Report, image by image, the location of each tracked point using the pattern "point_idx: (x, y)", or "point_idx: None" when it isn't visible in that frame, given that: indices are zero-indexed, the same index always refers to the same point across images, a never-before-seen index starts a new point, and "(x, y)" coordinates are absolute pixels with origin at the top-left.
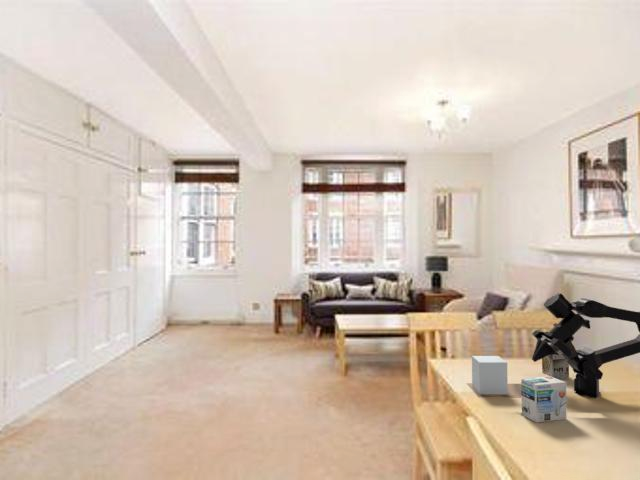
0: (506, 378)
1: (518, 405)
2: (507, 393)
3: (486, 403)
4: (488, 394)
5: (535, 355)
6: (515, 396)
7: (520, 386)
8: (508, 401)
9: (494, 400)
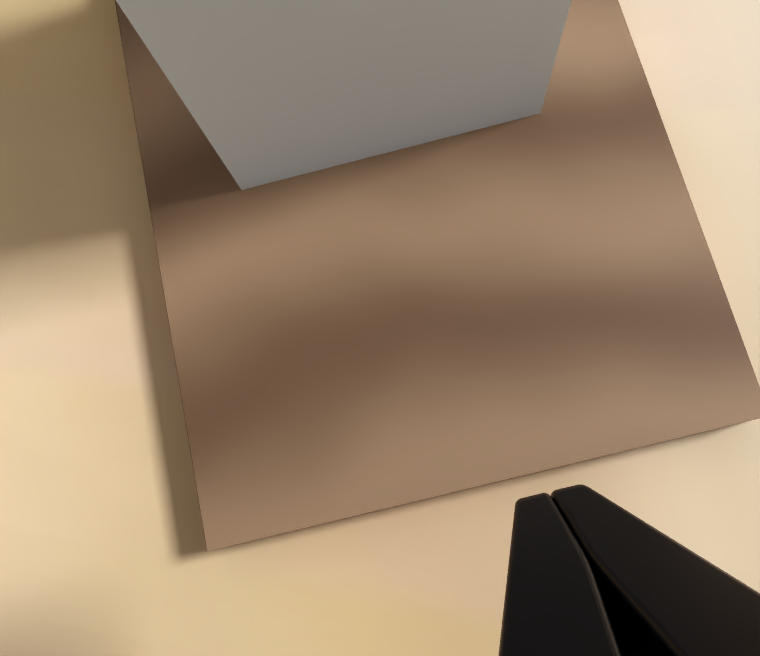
0: (176, 80)
1: (50, 289)
2: (238, 183)
3: (60, 21)
4: None
5: (509, 594)
6: (190, 263)
7: (617, 357)
8: None
9: None
